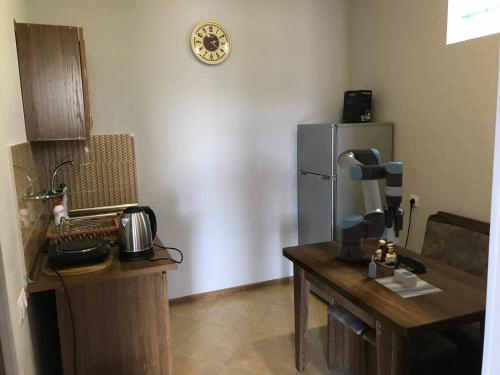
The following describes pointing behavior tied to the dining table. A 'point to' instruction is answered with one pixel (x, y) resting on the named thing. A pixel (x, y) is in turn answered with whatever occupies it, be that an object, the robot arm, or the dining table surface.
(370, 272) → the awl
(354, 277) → the dining table surface
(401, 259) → the gun
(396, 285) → the panel
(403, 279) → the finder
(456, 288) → the dining table surface
